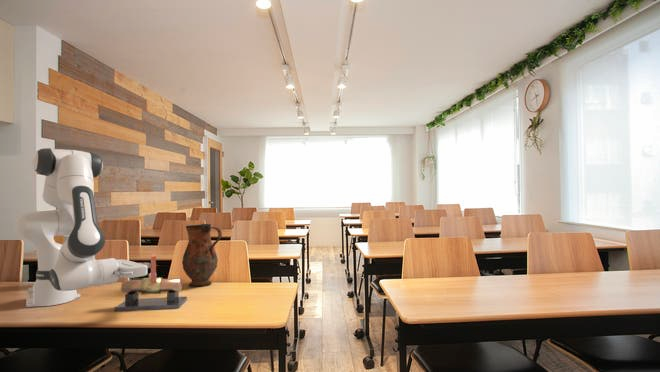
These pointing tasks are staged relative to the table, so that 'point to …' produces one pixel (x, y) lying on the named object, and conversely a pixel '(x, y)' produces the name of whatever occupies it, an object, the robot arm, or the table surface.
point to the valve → (147, 288)
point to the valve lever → (153, 269)
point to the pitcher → (200, 255)
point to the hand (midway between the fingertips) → (149, 264)
